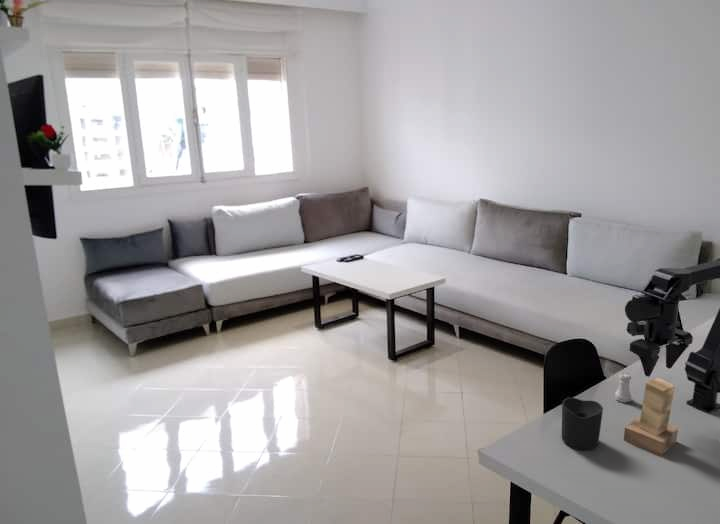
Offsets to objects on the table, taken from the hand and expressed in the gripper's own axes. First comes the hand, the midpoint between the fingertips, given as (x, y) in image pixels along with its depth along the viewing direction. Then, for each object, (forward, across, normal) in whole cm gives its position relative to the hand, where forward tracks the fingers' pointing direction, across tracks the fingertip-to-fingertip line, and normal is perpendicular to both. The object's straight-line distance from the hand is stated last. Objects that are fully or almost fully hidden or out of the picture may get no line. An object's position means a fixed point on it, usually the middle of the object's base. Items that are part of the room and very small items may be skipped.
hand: (658, 372), depth 146 cm
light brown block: (+13, +12, +7) cm, 19 cm away
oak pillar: (+9, +12, +8) cm, 17 cm away
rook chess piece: (+13, -1, -10) cm, 17 cm away
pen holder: (+13, +27, -2) cm, 30 cm away
